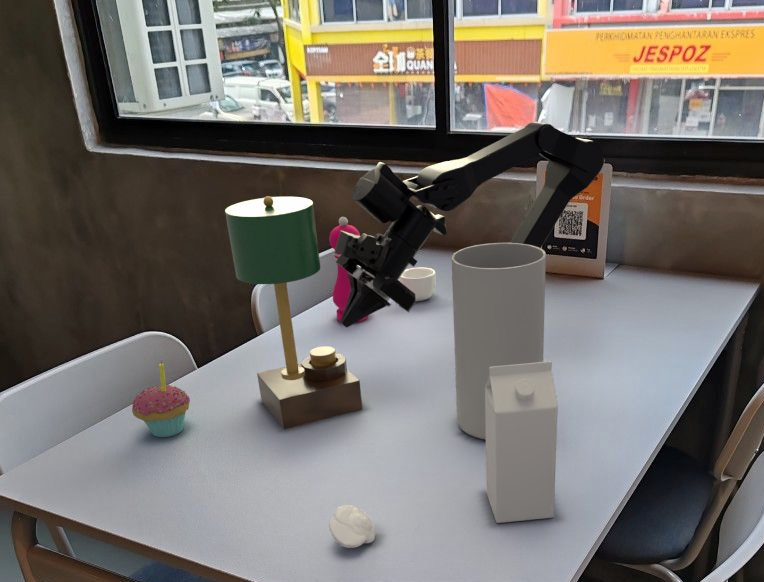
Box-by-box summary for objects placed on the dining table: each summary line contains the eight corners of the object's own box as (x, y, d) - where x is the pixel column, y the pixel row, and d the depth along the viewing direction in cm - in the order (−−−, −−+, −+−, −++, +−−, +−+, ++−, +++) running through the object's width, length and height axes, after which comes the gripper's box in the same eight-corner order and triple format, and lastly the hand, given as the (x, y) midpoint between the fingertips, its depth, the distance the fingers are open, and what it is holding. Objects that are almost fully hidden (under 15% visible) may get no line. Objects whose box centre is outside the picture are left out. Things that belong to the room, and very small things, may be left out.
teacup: (427, 305, 171) (426, 279, 168) (394, 302, 174) (392, 277, 171) (445, 290, 179) (444, 265, 176) (413, 288, 182) (412, 263, 179)
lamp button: (331, 356, 132) (329, 344, 131) (340, 364, 129) (338, 352, 128) (307, 361, 131) (306, 349, 130) (316, 370, 128) (314, 357, 127)
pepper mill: (365, 324, 164) (356, 221, 153) (330, 323, 165) (319, 221, 155) (374, 312, 170) (365, 212, 159) (340, 311, 171) (329, 212, 161)
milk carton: (486, 494, 106) (484, 355, 96) (540, 488, 106) (544, 350, 96) (496, 524, 100) (495, 379, 90) (554, 518, 100) (559, 373, 90)
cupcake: (205, 421, 130) (190, 349, 124) (175, 446, 123) (158, 371, 117) (159, 416, 133) (141, 346, 126) (127, 440, 126) (108, 367, 120)
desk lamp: (317, 354, 132) (295, 183, 119) (344, 380, 123) (324, 196, 109) (244, 371, 128) (213, 195, 115) (267, 398, 119) (236, 210, 105)
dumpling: (342, 526, 102) (347, 497, 101) (380, 539, 101) (386, 511, 99) (317, 548, 96) (321, 518, 94) (357, 563, 95) (362, 533, 93)
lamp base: (335, 383, 139) (330, 344, 136) (362, 409, 130) (358, 368, 126) (261, 401, 135) (254, 361, 131) (284, 429, 126) (277, 387, 122)
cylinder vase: (531, 447, 116) (534, 270, 103) (446, 437, 120) (439, 267, 107) (549, 409, 126) (554, 244, 113) (470, 401, 130) (466, 241, 117)
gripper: (341, 199, 129) (284, 282, 131) (390, 221, 114) (325, 314, 116) (391, 241, 136) (336, 319, 138) (443, 267, 121) (381, 354, 123)
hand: (343, 325), depth 129 cm, fingers closed
